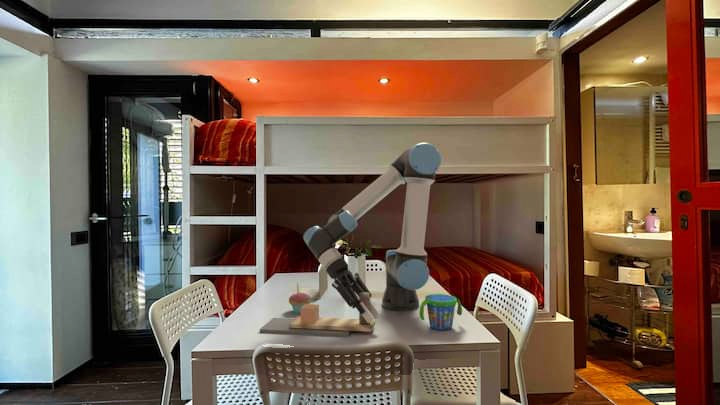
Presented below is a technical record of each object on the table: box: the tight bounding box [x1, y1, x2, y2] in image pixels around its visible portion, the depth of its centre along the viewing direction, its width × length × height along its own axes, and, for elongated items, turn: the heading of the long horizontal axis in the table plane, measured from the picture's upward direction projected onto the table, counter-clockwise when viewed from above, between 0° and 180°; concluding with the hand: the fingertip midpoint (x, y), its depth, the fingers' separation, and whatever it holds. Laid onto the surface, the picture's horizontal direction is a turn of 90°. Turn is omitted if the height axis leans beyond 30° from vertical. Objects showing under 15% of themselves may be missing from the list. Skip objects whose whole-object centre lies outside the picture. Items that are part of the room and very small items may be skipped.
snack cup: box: [418, 293, 463, 331], centre depth 128 cm, size 16×10×10 cm
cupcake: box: [288, 281, 311, 314], centre depth 148 cm, size 9×8×12 cm
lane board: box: [259, 317, 352, 338], centre depth 128 cm, size 30×12×1 cm, turn 81°
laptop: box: [299, 266, 329, 300], centre depth 174 cm, size 18×12×13 cm
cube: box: [299, 303, 320, 324], centre depth 128 cm, size 5×5×5 cm
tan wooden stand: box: [289, 292, 376, 333], centre depth 127 cm, size 28×8×11 cm, turn 81°
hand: (374, 318), depth 123 cm, fingers closed on tan wooden stand, 4 cm apart
